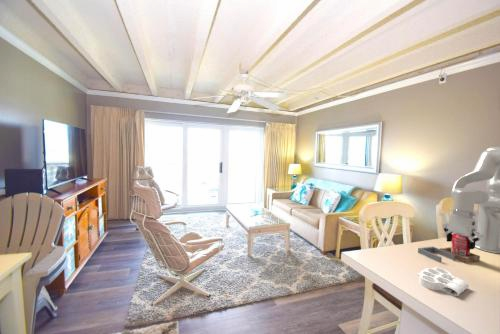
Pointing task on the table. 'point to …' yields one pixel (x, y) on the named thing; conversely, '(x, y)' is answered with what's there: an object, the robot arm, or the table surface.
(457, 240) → the soda can
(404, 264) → the table surface
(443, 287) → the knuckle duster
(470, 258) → the tray
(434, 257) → the frame
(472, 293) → the table surface
